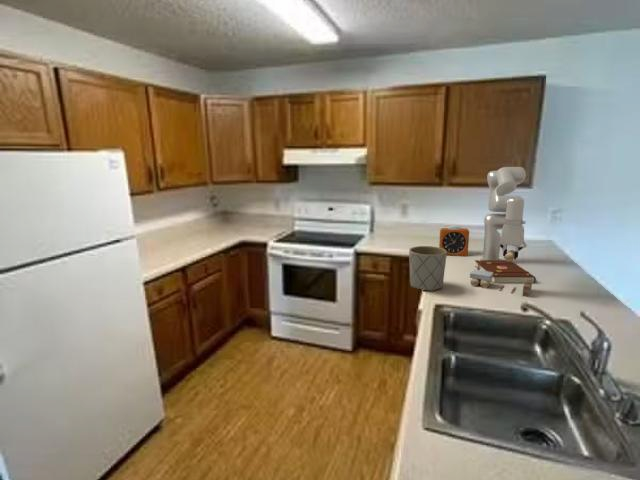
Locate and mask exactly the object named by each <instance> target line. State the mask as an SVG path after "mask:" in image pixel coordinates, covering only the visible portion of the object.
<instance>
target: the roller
mask: <svg viewBox="0 0 640 480" xmlns="http://www.w3.org/2000/svg"><path fill="white" fill-rule="evenodd" d="M514 254H515V250H513V249H510V250H509V251H508V250H507V254H506V255H505V258H504V260H506V261H512V262H513V260H515V259H514Z"/></svg>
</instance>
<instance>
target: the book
mask: <svg viewBox="0 0 640 480" xmlns="http://www.w3.org/2000/svg"><path fill="white" fill-rule="evenodd" d="M474 262H475V265H474V267H475V268H476V270H481V271H488V272H494V273H493V278H492V282H491V283H492V284H525V282H526V281H527V280H532V284H535V283H536V281H537V277H536V276H534V275H533V274H531V273H530V272H529V271H527V270H526V269H524V268H522V267H521V266H519V265H518V264H517V263H515V262H513V260H512V261H506V260H505V259H504V260H501V259H499V260H480V259H479V260H478V259H477V260H474Z"/></svg>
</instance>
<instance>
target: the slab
mask: <svg viewBox="0 0 640 480" xmlns="http://www.w3.org/2000/svg"><path fill="white" fill-rule="evenodd" d="M493 273H494V272H488V271H481V270H478V269H473V270H471V272H470V273H469V278H470V279H473V278H474V279H481V280H487V281H490V280H491V279H492V278H493Z"/></svg>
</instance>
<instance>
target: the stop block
mask: <svg viewBox="0 0 640 480" xmlns="http://www.w3.org/2000/svg"><path fill="white" fill-rule="evenodd" d="M523 284H524V285H523V287H522V297H525V296H526V297H525V298H528V297H529V295H530V293H531V291H532V287H533V285H532V284H533V283H532V280H527V281H526V282H525V283H523Z"/></svg>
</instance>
